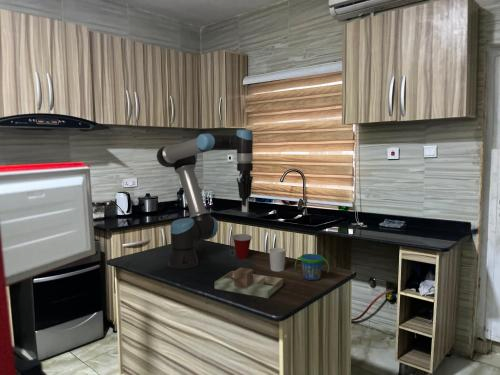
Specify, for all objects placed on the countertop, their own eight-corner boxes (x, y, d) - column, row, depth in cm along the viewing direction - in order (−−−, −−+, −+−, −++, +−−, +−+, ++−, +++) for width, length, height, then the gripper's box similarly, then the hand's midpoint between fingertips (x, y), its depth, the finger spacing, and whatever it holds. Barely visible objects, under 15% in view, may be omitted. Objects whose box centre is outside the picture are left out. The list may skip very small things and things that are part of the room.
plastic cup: (237, 261, 201) (237, 239, 200) (229, 256, 211) (229, 235, 209) (255, 258, 206) (255, 237, 205) (246, 253, 216) (246, 233, 214)
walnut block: (234, 285, 158) (233, 271, 157) (240, 281, 163) (240, 267, 163) (247, 287, 155) (247, 273, 155) (253, 283, 161) (253, 269, 160)
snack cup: (330, 276, 177) (331, 255, 176) (326, 284, 167) (327, 261, 166) (298, 272, 183) (298, 252, 181) (292, 279, 173) (292, 258, 172)
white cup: (284, 272, 183) (284, 252, 182) (268, 271, 184) (268, 251, 183) (286, 267, 191) (286, 248, 190) (270, 266, 192) (270, 247, 191)
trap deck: (214, 288, 163) (214, 281, 162) (232, 277, 177) (232, 270, 177) (268, 298, 152) (268, 291, 152) (282, 285, 166) (282, 278, 166)
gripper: (245, 163, 172) (246, 214, 175) (257, 162, 184) (258, 210, 186) (231, 163, 175) (231, 213, 178) (243, 161, 187) (244, 209, 190)
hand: (245, 211), depth 182 cm, fingers closed
